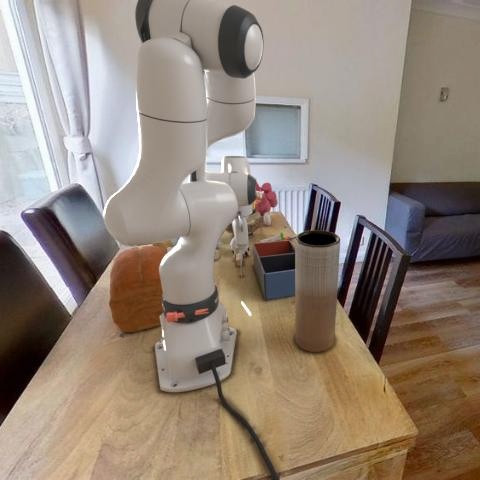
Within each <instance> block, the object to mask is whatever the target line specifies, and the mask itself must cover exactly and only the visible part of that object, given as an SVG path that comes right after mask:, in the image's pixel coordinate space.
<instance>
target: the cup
mask: <svg viewBox="0 0 480 480" xmlns="http://www.w3.org/2000/svg"><path fill="white" fill-rule="evenodd" d="M284 238H285V237H284V233H283V232H280V233H279V234H276V235H272V236H270V237H267V238H264V239H261V240H258V241H257V243H264V242H274V241H284Z"/></svg>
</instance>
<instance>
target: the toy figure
mask: <svg viewBox="0 0 480 480" xmlns="http://www.w3.org/2000/svg"><path fill="white" fill-rule="evenodd" d="M231 253H232V254H233V257H232V261H235V262H236V263H235V264H236V267H241V265H240V254H239V253H236V252H234V251H233V250H232V249H231ZM251 256H252V253H251V252H250V247H249V246H248V249H247V250H246V251H245V253H244V254H241V260H242V263H243V262H244V258H246V257H251Z"/></svg>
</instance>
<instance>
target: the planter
mask: <svg viewBox="0 0 480 480" xmlns="http://www.w3.org/2000/svg"><path fill="white" fill-rule="evenodd" d="M297 234H298V235H297ZM297 234H296V235H297V236H296V237H294V239H295V240H294V242H295V243H294V246H295V296H294V298H295V299H294V306H295V307H294V316H295V319H294V320H295V321H294V330H295V331H294V332H295V333H294V335H295V336H294V338H295V342H296V344H297V346H298V347H299V348H300V349H301V350H304V351H306V352H309V353H321V352H325V351H327V350H328V349H330V348H331V347H332V346H333V345H334V343H335V337H336V336H335V334H336V318H337V303H338V285H339V270H340V269H339V268H340V254H341V253H340V250H341V238H340V236H339V235H338V234H336V233H334V232H331V231H329V230H320V229H314V230H313V229H311V230H306V231H302V232H300V233H297Z"/></svg>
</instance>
